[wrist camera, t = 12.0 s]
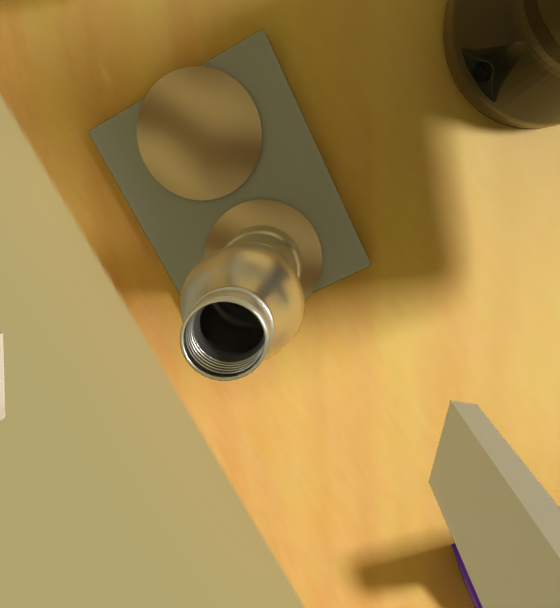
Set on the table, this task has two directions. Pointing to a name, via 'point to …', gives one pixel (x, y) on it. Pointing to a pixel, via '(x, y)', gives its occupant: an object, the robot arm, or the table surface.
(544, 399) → the table surface
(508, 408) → the table surface
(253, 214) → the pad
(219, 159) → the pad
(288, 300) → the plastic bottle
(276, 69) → the board
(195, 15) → the table surface
